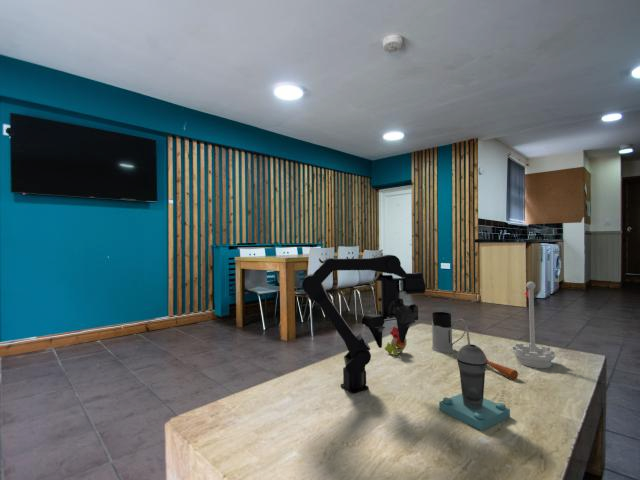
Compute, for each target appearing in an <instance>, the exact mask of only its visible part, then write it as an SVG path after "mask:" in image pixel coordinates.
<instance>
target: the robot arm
mask: <svg viewBox="0 0 640 480" xmlns="http://www.w3.org/2000/svg"><path fill="white" fill-rule="evenodd" d="M334 271H374V272H378V274H377V275H376V276H375V277H374V279H373V280H374V281H376V282H380V297H378V299H377V300H378V302H380V303H381V304H380V305H381V306H380V308H381V309H380V310H378V314H375V313H368V314H363V315H362V317H361V324H362V325H365V327H367V328H368V329H369V331H370V333H371V335H372V336H373V339H374V341H375V343H376V345H377V348H379V349H381V348H382V347H383V331H384V329H385V328H386V327H385V326H384V324H385V322H389V321H390V322H391V321H396V325H397V328H398V332H399V338H400V342H401V343H404V341H405V338H406V337H407V334H408V332H409V329H410V327H411V326H412V325H413V324H414V323H416V321H418V320H419V306H418V305H416V304H415V303H414V304H410V305H405V304H404V299H403V298H401V297H400V296H401V295H400V294H401V293H400V291H401V292H403V294H404V295H406V296H407V295H411V296H412V295H425V293H426V286H427V285H426V282H425V279H424V277H423V275H424V274H423V273H422V272H414V273H413V272H412V273H408V272H406V270H404V268H403V267H402V266H401V260H400V258H398V256H396V255H393V254H384V255H378V256H373V257H369V258H364V257H363V258H360V257H359V258H333V257H329V258H327V259H326V260H325V261H324V262H323V263H322V265H320V266H319V267H318V269H316V270H315V271H314V272H313V273H310V274H307V275H306V276H305V277H304V278H303V281H302V283H301V288H302V291H304V293H305V294H306V295H308V297H309V298H311V300H312V301H314V302H315V303H317V305H318V306H319V308H320V309H321V310H322V311H323V313H324V314H325V316H326V318H327V319H328V320H329V322H330V323H331V324H332V326H333V328H335V331H336V332H338V334H339V336H340V337H341V339H342V340H343V342H344V344H345V346H346V349H347V353H346V354H345V355H344V356H343V360H344V365H345V366H344V367H343V368H342V370H343V372H342V373H343V375H342V377H343V381H342V383H341V384H340V387H341V388H342V389H345V390H346V391H348V392H349V393H351V394H355V393H358V392H362V391H365V390H368V389H370V388H369V387H370V386H368V385H367V371H366V366H367V365H368V364H369V363H370V361H371V360H372V359H371V358H372V354H371V347H370V345H369V342H367V341H366V340H365V339H364V338H363V336H362V335H363V334H362V333H359V334H358V335H357V334H356V333H354V332H353V330H352V329H351V327H350V326H349V324H348V323H347V321H346V320H345V319H344V317H343V316H342V314H341V313H340V312H339V311H338V308H337V307H336V306H335V304H334V303H333V302H332V300H331V299H330V298H329V295H328V294H327V291H326V288H325V286H324V285H323V282H325V280H327V278H328V277H329V276H330V275H331V274H332V273H333V272H334ZM382 273H384V274H382ZM393 275H395V276H397V277H393ZM406 339H407V338H406Z"/></svg>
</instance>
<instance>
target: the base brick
mask: <svg viewBox="0 0 640 480" xmlns="http://www.w3.org/2000/svg"><path fill="white" fill-rule="evenodd" d="M438 403H439V406H438V407H439V409H438V410H440V411H441V412H444V414H445V413H446V414H448V415H449V416H452V417H453V418H455V419H457V420H459V421H461V422H463V423H465V424H467V425H469V426H471V427H473V428H474V429H477V430H479V431H480V432H482V431H484V430H486V429H488V428H490V427H492V426H495V425H497V424H499V423H501V422H503V421H505V420H507V419H509V418H510V417H511V408H509V407H507V406H506V404H504V403H503V402H494V401H491V400H490V399H487V398H485V397H483V404H482V408H481V409H471V408H468V407H466V406H465V405H464V404H463V398H462V393H459V394H456V395H454V396H451V397H443V399H442V400H441V401H439V402H438Z"/></svg>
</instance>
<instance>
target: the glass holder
mask: <svg viewBox="0 0 640 480" xmlns="http://www.w3.org/2000/svg"><path fill="white" fill-rule="evenodd" d="M431 317H432V318H431V332H432V333H431V334H432V336H431V337H432V339H431V340H432V345H431V348H432V349H431V350H432V351H435V352H439V353H445V354H447V353H452V352H454V347H453V346H454V344H455V343H457V342H459V341H460V340H461V339H463V338H464V337H465V334H466V333H467V332H466V327H467V322H466V321H465V320H464V319H463V318H458V319H456V320H455V321H454V326H452V314H451V312H450V313H449V312H446V311H434V312H432V313H431ZM458 321H462V322H463V323H464V326H465V328H464V332H463V334H462V335H461V337H459V338H457V340H455V341H453V330H454V329H455V328H456V326H457V322H458Z"/></svg>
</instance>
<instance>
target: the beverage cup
mask: <svg viewBox="0 0 640 480" xmlns="http://www.w3.org/2000/svg"><path fill="white" fill-rule="evenodd" d="M465 333H466V339H467V340H466V341H467V344H465V345H463V346H461V348H459V350H458V352H457V357H456V360H457V365H458V368H459V371H458V372H459V379H460V386H461V387H460V388H461V394H462V398H463V404H464V405H465V406H466V407H468V408H471V409H481V408H482V404H483V398H484V396H485V395H484V394H485V378H486V370H487V365H488V364H487V360H486V358H487V357H486V356H487V355H486V354H485V352H484V351H483V350H482V348H480V347H479V346H477V345H475V344H471V342H470V341H471V340H470V333H469V327H468V326H466V332H465Z"/></svg>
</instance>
